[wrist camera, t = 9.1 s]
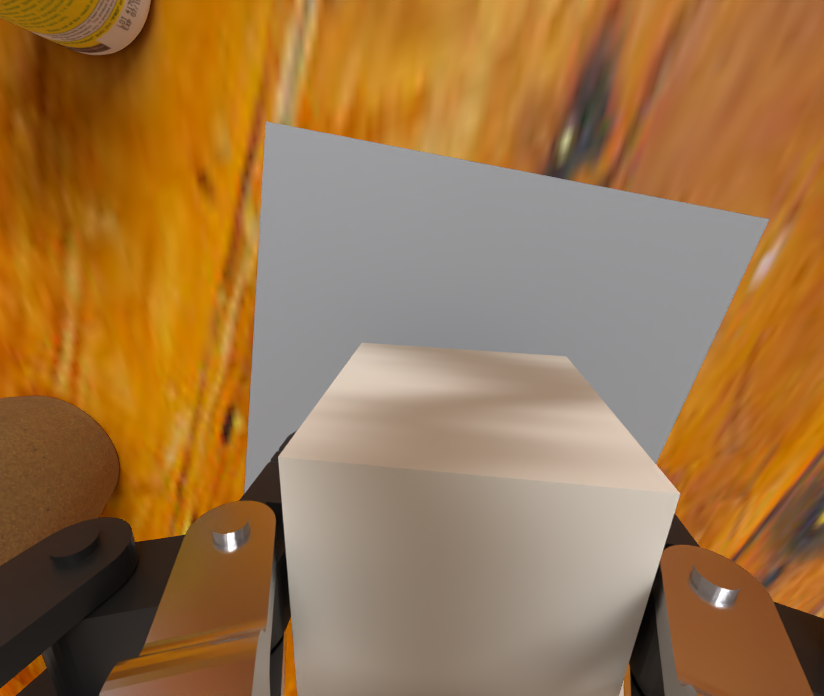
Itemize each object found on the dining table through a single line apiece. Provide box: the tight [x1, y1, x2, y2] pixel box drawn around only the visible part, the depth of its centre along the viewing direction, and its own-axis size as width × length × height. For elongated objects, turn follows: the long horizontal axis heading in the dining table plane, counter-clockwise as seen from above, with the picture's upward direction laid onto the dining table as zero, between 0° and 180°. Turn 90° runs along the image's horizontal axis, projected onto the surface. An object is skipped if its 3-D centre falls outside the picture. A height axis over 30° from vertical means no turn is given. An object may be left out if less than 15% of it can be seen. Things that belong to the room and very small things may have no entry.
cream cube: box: [278, 343, 680, 696], centre depth 8 cm, size 5×5×5 cm
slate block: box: [244, 122, 769, 494], centre depth 16 cm, size 14×14×6 cm
